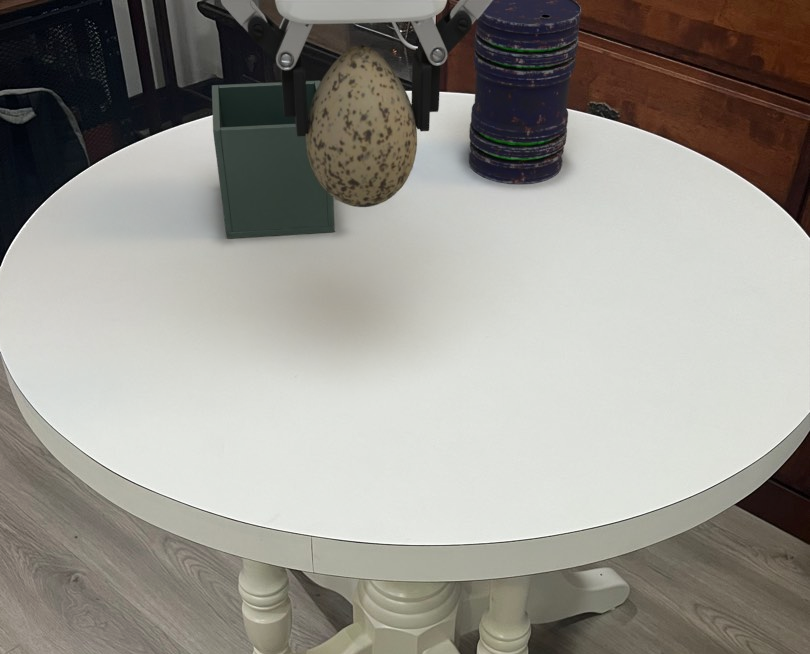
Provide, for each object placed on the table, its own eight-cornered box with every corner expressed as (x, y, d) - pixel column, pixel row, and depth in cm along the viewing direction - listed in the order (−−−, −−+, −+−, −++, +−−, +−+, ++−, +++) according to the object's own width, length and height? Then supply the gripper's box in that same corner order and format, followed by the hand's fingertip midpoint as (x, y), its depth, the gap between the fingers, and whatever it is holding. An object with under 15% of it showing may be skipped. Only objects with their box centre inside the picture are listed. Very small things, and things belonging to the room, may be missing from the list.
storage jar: (450, 152, 105) (457, -2, 94) (530, 135, 108) (545, -16, 97) (498, 192, 98) (511, 31, 88) (581, 173, 102) (603, 15, 91)
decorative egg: (417, 179, 69) (421, 27, 62) (413, 230, 64) (417, 70, 57) (315, 176, 69) (307, 23, 62) (303, 226, 64) (293, 66, 57)
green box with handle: (212, 130, 84) (383, 122, 86) (211, 85, 91) (369, 78, 93) (226, 238, 91) (383, 229, 93) (224, 188, 98) (370, 180, 100)
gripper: (508, -235, 54) (483, 97, 67) (185, -236, 52) (222, 106, 65) (539, -210, 49) (506, 145, 62) (183, -210, 47) (224, 156, 60)
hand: (361, 122), depth 63 cm, fingers closed on decorative egg, 7 cm apart
